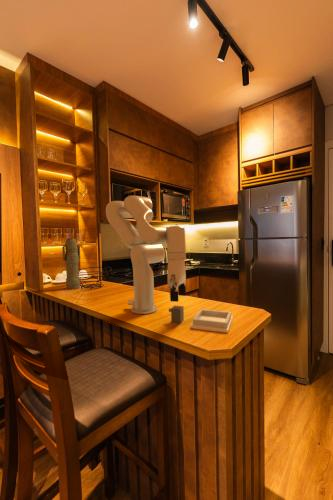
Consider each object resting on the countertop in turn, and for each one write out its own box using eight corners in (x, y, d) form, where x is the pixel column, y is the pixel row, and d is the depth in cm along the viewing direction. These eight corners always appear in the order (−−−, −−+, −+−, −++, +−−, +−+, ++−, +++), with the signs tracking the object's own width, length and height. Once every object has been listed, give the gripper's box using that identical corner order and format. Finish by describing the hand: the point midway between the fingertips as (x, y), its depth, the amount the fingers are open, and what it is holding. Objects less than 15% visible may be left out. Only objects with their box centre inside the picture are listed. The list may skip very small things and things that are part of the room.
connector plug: (167, 322, 98) (167, 307, 98) (171, 319, 102) (170, 305, 101) (180, 323, 96) (180, 309, 96) (183, 320, 100) (183, 306, 99)
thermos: (84, 287, 170) (82, 237, 168) (69, 290, 161) (66, 238, 158) (77, 285, 175) (74, 238, 173) (62, 288, 166) (59, 238, 163)
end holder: (190, 328, 91) (190, 320, 91) (200, 314, 106) (200, 308, 106) (227, 332, 86) (227, 324, 86) (233, 318, 101) (233, 311, 101)
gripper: (175, 255, 106) (176, 293, 107) (159, 258, 90) (161, 303, 91) (191, 254, 103) (193, 293, 104) (178, 258, 87) (180, 304, 88)
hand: (178, 298), depth 97 cm, fingers open, 9 cm apart
